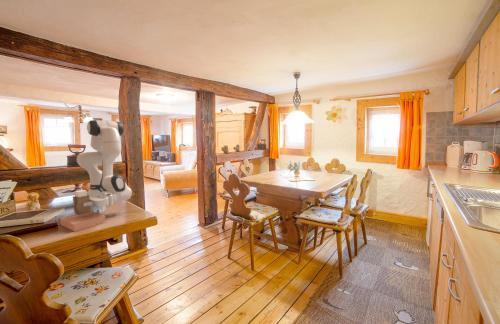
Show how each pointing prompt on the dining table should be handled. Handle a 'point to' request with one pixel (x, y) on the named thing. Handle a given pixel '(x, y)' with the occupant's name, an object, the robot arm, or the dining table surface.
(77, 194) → the cargo block
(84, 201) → the walnut crate
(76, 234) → the dining table surface
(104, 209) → the light bulb box
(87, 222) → the dock
